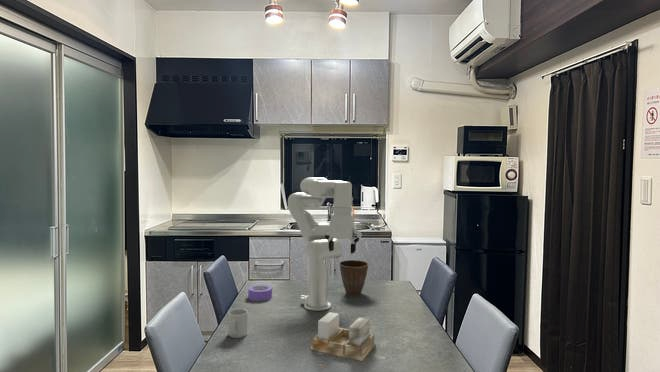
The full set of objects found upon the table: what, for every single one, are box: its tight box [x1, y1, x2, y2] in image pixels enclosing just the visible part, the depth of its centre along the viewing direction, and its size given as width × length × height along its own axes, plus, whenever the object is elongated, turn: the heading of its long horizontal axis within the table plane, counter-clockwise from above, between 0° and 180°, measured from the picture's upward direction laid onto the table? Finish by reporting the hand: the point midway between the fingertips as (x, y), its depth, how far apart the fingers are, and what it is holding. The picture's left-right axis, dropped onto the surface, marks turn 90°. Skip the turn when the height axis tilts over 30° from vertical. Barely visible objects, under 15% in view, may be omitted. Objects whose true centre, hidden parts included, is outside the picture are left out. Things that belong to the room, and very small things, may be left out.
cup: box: [228, 308, 249, 339], centre depth 158 cm, size 7×10×9 cm
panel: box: [317, 311, 340, 341], centre depth 151 cm, size 4×10×9 cm, turn 156°
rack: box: [310, 317, 377, 362], centre depth 149 cm, size 20×14×10 cm
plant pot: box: [339, 259, 369, 297], centre depth 212 cm, size 15×15×16 cm
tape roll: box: [247, 284, 273, 302], centre depth 205 cm, size 12×12×5 cm
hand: (341, 251), depth 171 cm, fingers open, 9 cm apart
